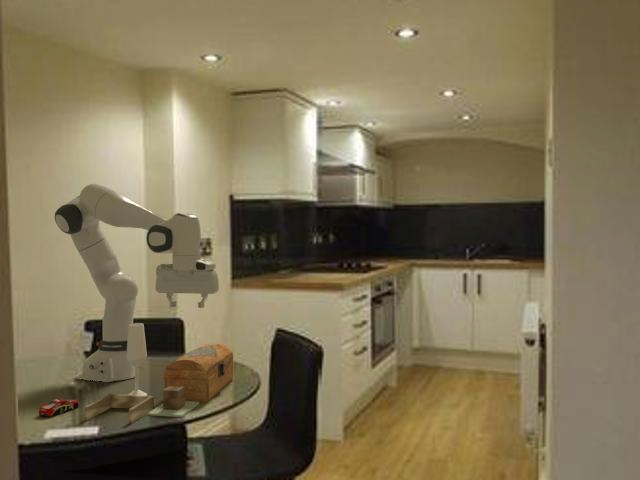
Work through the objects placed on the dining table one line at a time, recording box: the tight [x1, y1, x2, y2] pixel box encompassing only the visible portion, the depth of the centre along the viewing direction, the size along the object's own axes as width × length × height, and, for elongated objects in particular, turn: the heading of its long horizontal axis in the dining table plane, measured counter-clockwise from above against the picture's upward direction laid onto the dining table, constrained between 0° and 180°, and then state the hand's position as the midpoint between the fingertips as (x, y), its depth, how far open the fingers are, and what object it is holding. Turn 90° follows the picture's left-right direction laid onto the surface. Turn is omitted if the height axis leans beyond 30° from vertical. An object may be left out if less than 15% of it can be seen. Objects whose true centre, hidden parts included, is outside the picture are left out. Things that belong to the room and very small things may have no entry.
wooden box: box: [163, 343, 234, 403], centre depth 217 cm, size 30×16×14 cm, turn 171°
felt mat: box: [147, 401, 200, 418], centre depth 194 cm, size 11×14×1 cm
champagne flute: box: [126, 322, 148, 396], centre depth 210 cm, size 7×7×24 cm
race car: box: [38, 398, 79, 417], centre depth 192 cm, size 13×5×4 cm, turn 155°
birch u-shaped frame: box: [84, 393, 155, 424], centre depth 189 cm, size 15×14×4 cm
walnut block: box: [162, 386, 185, 410], centre depth 194 cm, size 5×5×6 cm
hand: (187, 307), depth 199 cm, fingers open, 8 cm apart
